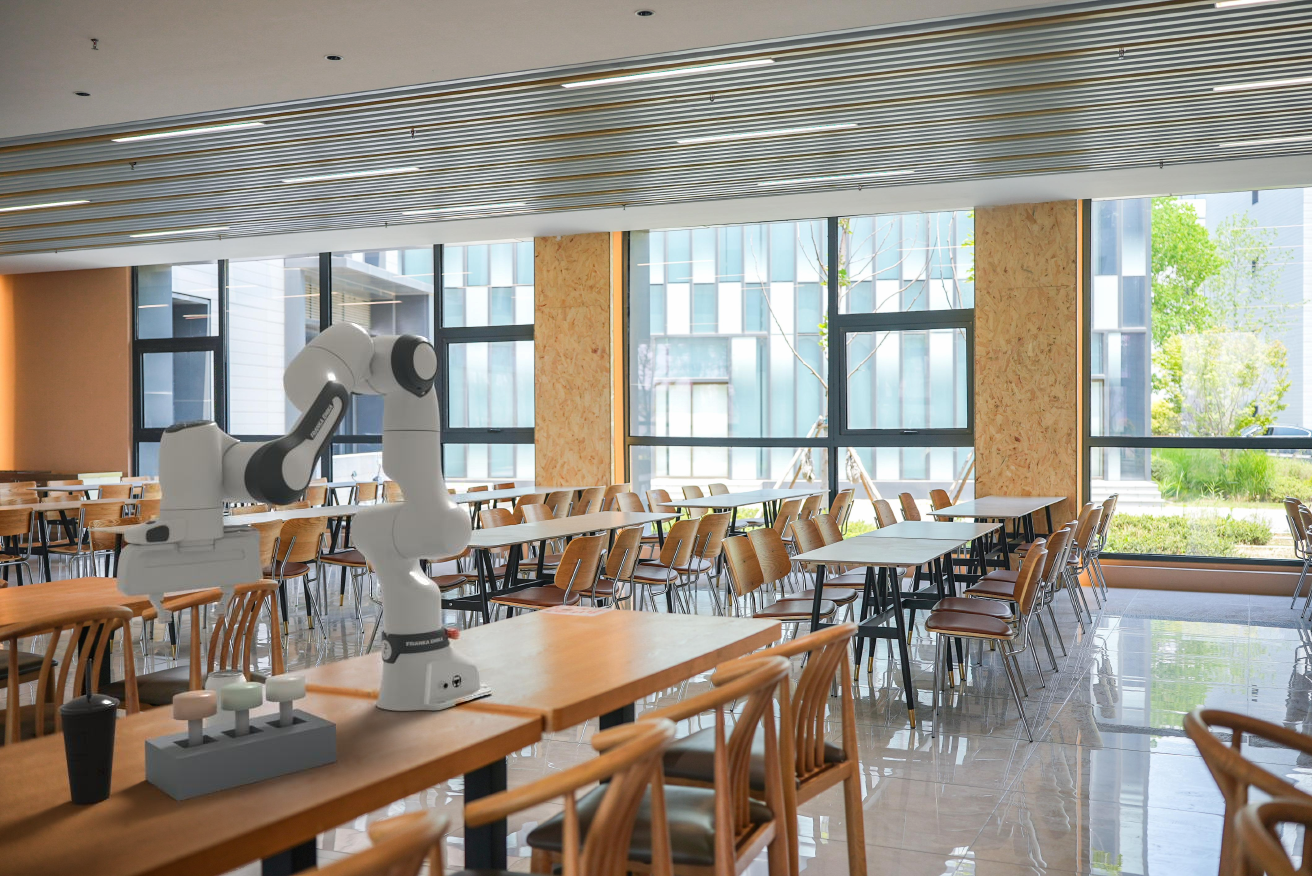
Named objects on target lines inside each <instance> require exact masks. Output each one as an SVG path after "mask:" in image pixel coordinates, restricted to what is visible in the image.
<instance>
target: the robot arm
mask: <svg viewBox="0 0 1312 876" xmlns="http://www.w3.org/2000/svg"><path fill="white" fill-rule="evenodd" d="M438 371H439V357H438V353H437V350H436V349H435V348H434V345H433V344H432V343H431V341H430V340H429V339H428V338H426V337H425V336H422V335H417V334H412V333H410V334H409V333H406V334H402V335H400V334H399V335H398V334H384V335H383V334H382V335H376V336H374V337H371V336H370V334H369V333H368V331H366V330H365V329H364V328H363V327H362V326H360V325H358V324H356V323H353V322H350V321H340V322H336V323H333V324H332V325H330V326H329V327H327V328H325V329H324V330H323V331H321V332H320V333H319V334H318V335H316V336H315V337H314V338H313V339H311V340H310V341H309V342H308V343H306V345H305V346H304V347H303V348H302V349H301V350H300V352H298V353H297V354H296V356H295V357H294V358H293V359H292V360H291V361H290V362H289V364H288V366H287V367H286V370H285V371H284V374H283V376H282V377H283V378H282V381H283V388H284V392H285V394H286V396H287V398H288V400H289V401H290V403H292V406H294V407H295V408H296V409H297V410H298V411H300V412H301V414H300V415H299V417H298V418H297V420H296V421H295V423H294V424H293V425H292V428H291V429H290V430H289V432H288V433H287V434H286V435H283V436H281V437H279V438H276V439H273V440H268V441H247V442H246V441H241V440H240V439H237V438H235V437H233V436H230V435H229V434H227V433H226V432H224V431H223V430H222V429H221V428H220V427H219V425H218V423H217V422H216V421H213V420H210V419H200V420H199V419H198V420H192V421H183V422H178V423H174V424H171V425H170V426H168V427H167V428H165V429H164V430H163V433H162V435H161V438H160V443H159V449H158V450H159V451H158V464H157V465H158V471H157V472H158V483H159V486H160V490H161V491H160V492H161V498H160V501H159V502H160V503H159V505H158V513H159V514H158V517H155V518H154V519H150V520H147V521H144V522H141V523H139V524H136V525H134V526H131V527H129V528H126V529H125V530H124V533H123V535H124V537H123V538H124V541H125V542H126V543H129V544H127V545H126V546H124V547H123V549H122V550H121V552H120V554H119V557H118V563H117V569H116V570H117V573H116V589H117V591H118V592H119V593H120V594H121V595H123V596H125V597H136V596H146V595H147V596H148V601H149V602H150V604H151V605H152V606H153V608H154V609H155V611H156V612H157V623H158V624H159V625H163V624H170V623H172V622H173V618H172V617H173V611H172V610H168V609H165V607H164V605H162V603H161V601H164V599H165V594H166V593H175V592H183V591H192V590H201V589H212V588H220V592H221V593H223V594H222V596H221V598H220V601H219V602H218V603H215V604H213V616H214V617H216V618H218V617H226V616H228V614H229V613H228V612H229V611H228V605H229V604H230V602H231V600H232V598H233V597H234V595H235V592H236V591H235V590H236V587H235V586H240V585H249V584H257V583H259V582H260V580H261V579H262V577H263V574H264V573H263V565H262V556H261V551H260V548H261V543H262V538H261V537H262V535H261V532H260V530H259V529H258V528H257V527H255V526H252V524H248V523H244V524H239V525H238V524H236V525H235V524H230V525H229V524H228V525H224V503H241V504H265V505H272V506H273V505H274V506H282V507H283V506H289V505H292V504H295V503H296V502H297V501H299V500H300V499H301V498H302V497H303V496H304V495H305V493H306V491H307V490H308V488H309V486H310V484H311V481H312V479H313V475H314V473H315V470H316V467H317V465H318V462H319V460H320V458H321V457H322V455H323V453H324V452H325V451H326V448H327V446H328V445H329V443H330V442H331V440H332V438H334V437H333V436H335V433H336V432H337V430H338V429H339V427H340V426H341V423H342V422H343V420H344V418H345V416H346V414H347V411H348V409H349V405H350V397H349V395H355V396H362V395H371V396H374V395H376V396H379V395H381V397H382V400H383V403H384V405H383V406H384V408H383V412H382V413H383V414H382V433H381V434H382V436H381V439H382V440H381V443H382V447H381V449H382V450H381V455H382V457H381V458H382V459H381V461H382V462H381V469H382V471H383V473H384V474H385V476H386V477H387V478H388V479H389V480H391V481H393V482H394V483H396V484H397V486H398V487H399V489H400V490H401V494H402V497H403V502H381V503H376V504H371V505H368V506H364V507H362V508H360V509H359V510H357V512H356V513H355V515H354V517H353V518H352V520H351V525H350V532H349V533H350V540H351V542H352V544H353V546H354V548H355V549H356V550H357V551H358V552H359V553H360V554H361V555H362V556H364V558H365V559H366V560H367V561H368V563H369V565H370V566H371V567H372V570H373V572H374V574H375V577H376V579H377V581H378V585H379V588H380V593H381V601H382V619H383V620H382V622H383V624H382V625H383V630H382V631H381V634H380V635H381V641H380V644H381V659H382V674H381V681H380V688H379V691H378V692H379V693H378V695H377V696H378V697H377V701H376V704H375V705H376V706H377V708H380V709H382V710H383V709H384V710H388V711H399V712H400V711H403V712H404V711H406V712H407V711H440V710H443V709H448V708H451V707H454V706H456V705H455V704H456V702H457V701H458V700H461V699H465V698H469V697H472V696H476V695H481V694H485V693H489V692H491V691H493V690H492V688H491V686H489V685H487V684H485V683H483V682H482V683H481V678H480V673H479V669H478V666H477V664H476V663H475V662H474V661H473V660H472V659H471V658H470V657H468V656H467V655H465V654H464V653H462V652H461V651H459V650H458V649H456V648H455V647H454V646H452V645H451V642H450V640H449V639H452V640H453V641H455V640H458V639H459V637H460V636H461V632H460V630H459V629H456V628H449V629H447V628H445V627H443V626H442V593H441V590H440V587H439V585H438V584H437V583H436V582H435V581H434V580H432V579H431V578H429V577H428V576H427V574H426V573H425V572H424V571H423V569H422V566H421V565H420V562H419V560H441V559H447V558H452V557H455V556H459V555H461V554H462V553H464V551H465V550H466V549H467V547H468V545H469V543H470V542H471V539H472V534H473V527H472V522H471V519H470V516H469V515H468V513H467V512H466V511H465V509H464V508H462V507H461V506H460V505H459V504H458V503H457V502H456V500H454V498H453V497H452V495H451V494H450V492H449V490H448V488H447V486H446V483H445V480H444V476H443V471H442V462H441V461H442V460H441V422H440V421H441V419H440V409H439V407H440V406H439V401H438V397H437V390H436V387H435V385H434V383H435V381H436V378H437V375H438Z"/></svg>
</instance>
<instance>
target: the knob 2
mask: <svg viewBox="0 0 1312 876" xmlns="http://www.w3.org/2000/svg"><path fill="white" fill-rule="evenodd" d="M264 682H265V701H267V702H269V703H270V702H271V703H279V704H278V706H279V707H278V708H279V710H278V711H279V712H280V728H282V727H287V726H291V725H293V710H294V708H293V707H294V705H293V704H294V703H293V702H294V701H298V700H301V699H304V698H305V697H306V696H307V695H306V690H307V689H306V675H304V674H299V673H296V674H295V673H292V674H281V675H275V676H272V677H271V676H270V677H268V678H266V679H265V681H264ZM279 712H278V713H279Z"/></svg>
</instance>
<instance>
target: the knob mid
mask: <svg viewBox="0 0 1312 876" xmlns="http://www.w3.org/2000/svg"><path fill="white" fill-rule="evenodd" d="M263 698H264V697H263V683H262V682H259V681H246V682H242V683H234V684H229V685H226V686H223V687H221V709H222V710H226V711H235V733H236V737H240V736H245V735H249V718H250V710H251V709H255V708H259V707H261V706H262V705H263V704H264V702H263Z"/></svg>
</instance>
